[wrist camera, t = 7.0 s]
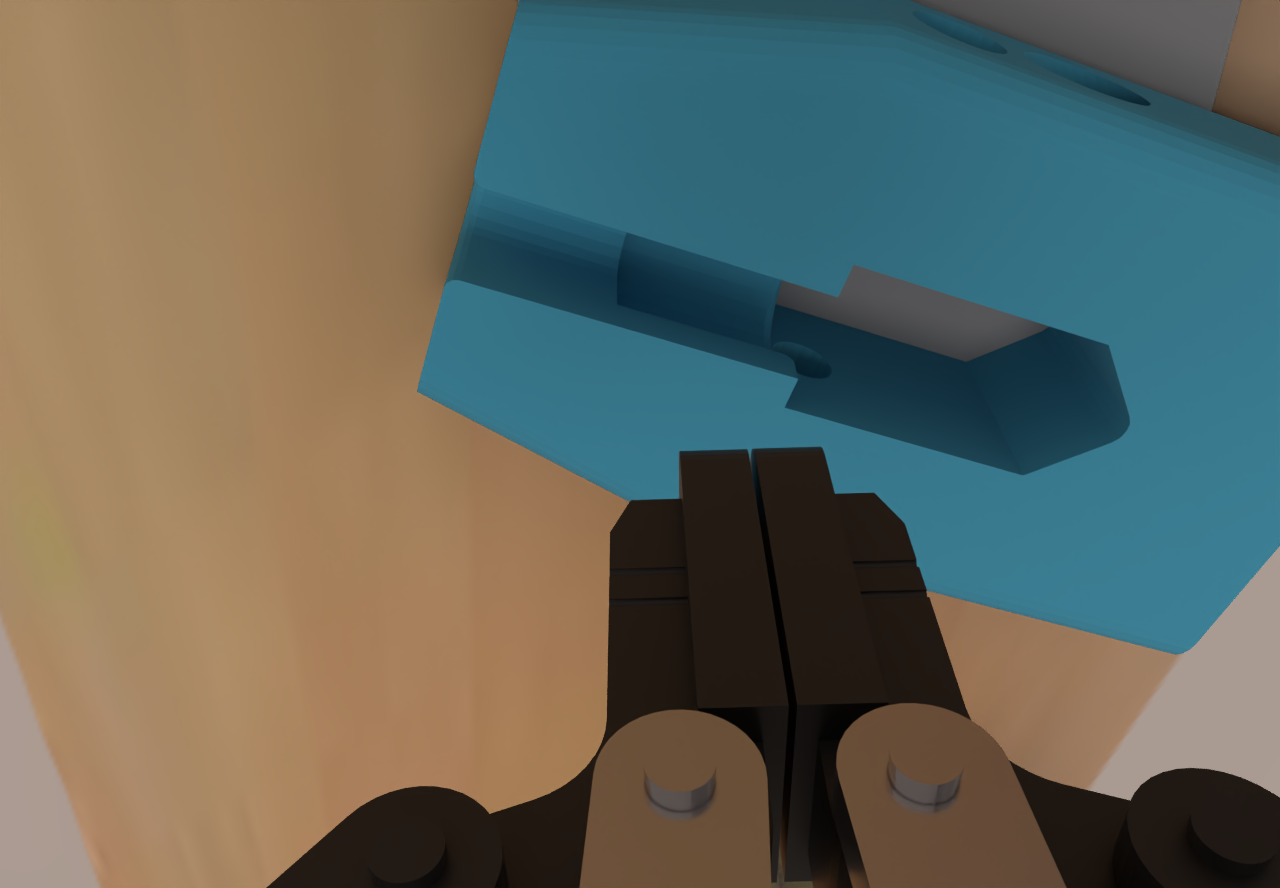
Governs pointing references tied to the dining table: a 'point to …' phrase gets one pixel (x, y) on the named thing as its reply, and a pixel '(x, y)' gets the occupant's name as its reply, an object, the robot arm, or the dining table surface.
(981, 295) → the block
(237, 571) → the dining table surface
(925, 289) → the mat
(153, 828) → the dining table surface
